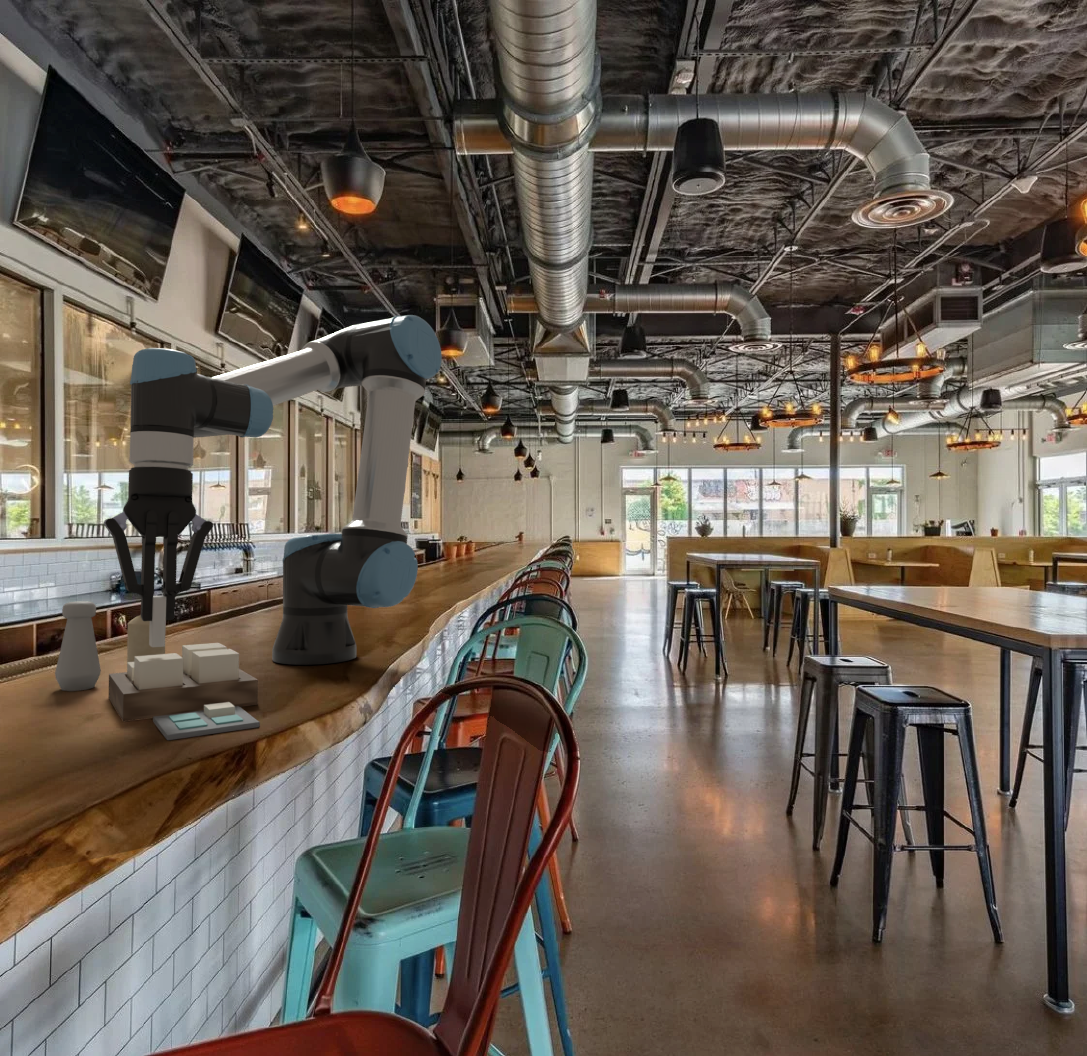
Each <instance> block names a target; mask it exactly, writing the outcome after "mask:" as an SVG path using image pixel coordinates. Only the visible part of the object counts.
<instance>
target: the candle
mask: <svg viewBox="0 0 1087 1056" xmlns="http://www.w3.org/2000/svg"><path fill="white" fill-rule="evenodd" d="M149 627H150V621H143V620H142V618H141V614H140V615H137V616H136V617H134V618H133V619H131V620H129V621H128V623H127V642H126V643H127V646H126V647H127V651H126V658H127V659H126V663H127V662H134V656H147V655H159V654H166V646H165V647H151V646H150V645H149Z"/></svg>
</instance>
